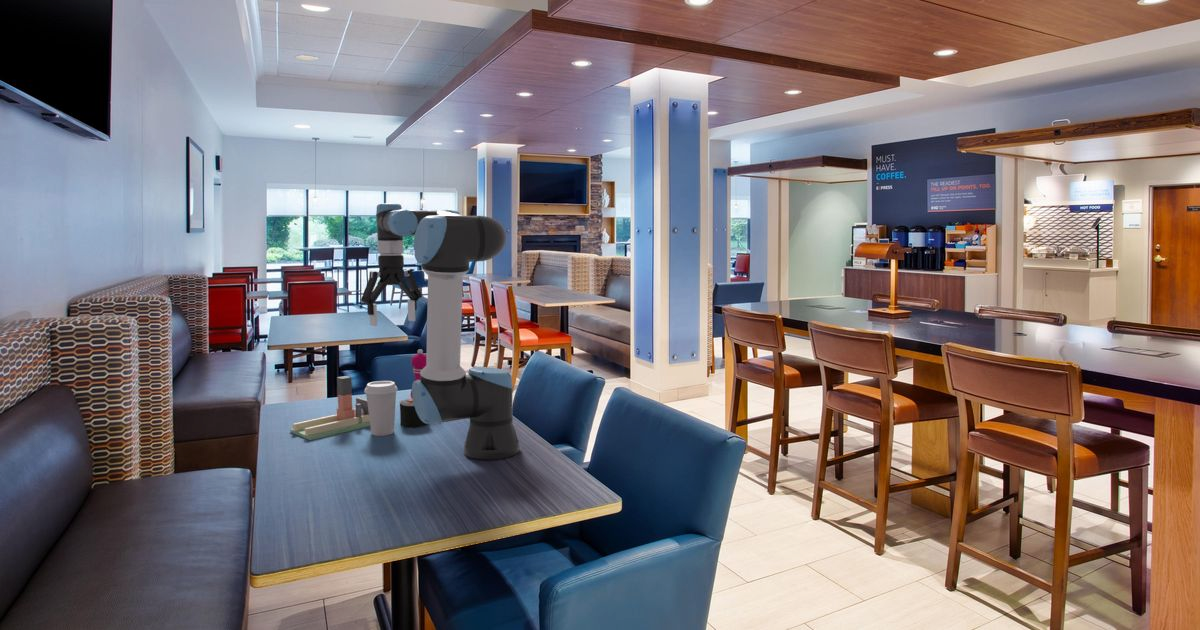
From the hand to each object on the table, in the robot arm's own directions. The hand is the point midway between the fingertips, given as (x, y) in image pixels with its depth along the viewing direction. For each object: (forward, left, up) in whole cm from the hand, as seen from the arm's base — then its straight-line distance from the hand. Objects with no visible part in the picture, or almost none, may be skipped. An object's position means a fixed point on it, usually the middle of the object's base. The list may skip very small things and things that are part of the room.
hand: (393, 323), depth 221 cm
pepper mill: (+10, -16, -32) cm, 37 cm away
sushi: (-6, -3, -32) cm, 32 cm away
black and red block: (+8, +13, -30) cm, 34 cm away
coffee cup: (-7, +9, -32) cm, 34 cm away
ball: (+8, +9, -29) cm, 31 cm away
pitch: (+8, +16, -32) cm, 36 cm away
